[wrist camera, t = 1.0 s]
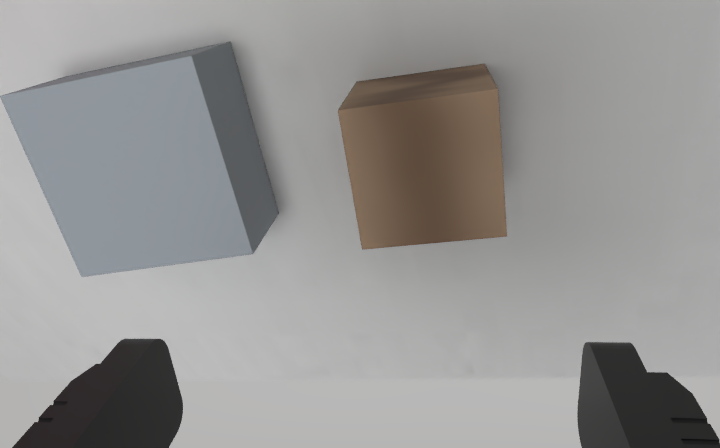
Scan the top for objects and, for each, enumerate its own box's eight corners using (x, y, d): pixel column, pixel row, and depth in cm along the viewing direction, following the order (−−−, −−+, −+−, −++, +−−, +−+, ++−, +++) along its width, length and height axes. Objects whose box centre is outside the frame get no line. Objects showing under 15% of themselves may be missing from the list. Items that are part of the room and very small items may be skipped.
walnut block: (484, 63, 26) (498, 88, 21) (492, 184, 28) (506, 236, 23) (356, 81, 27) (337, 110, 22) (375, 197, 29) (362, 249, 24)
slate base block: (231, 41, 27) (191, 55, 23) (279, 211, 31) (252, 253, 26) (68, 75, 29) (-1, 96, 24) (130, 233, 32) (81, 277, 28)
